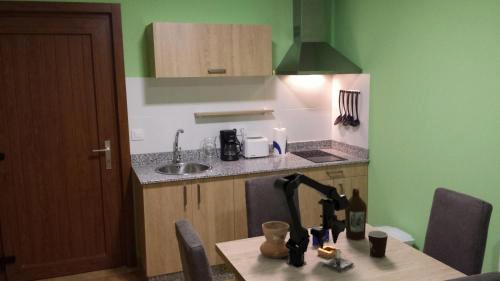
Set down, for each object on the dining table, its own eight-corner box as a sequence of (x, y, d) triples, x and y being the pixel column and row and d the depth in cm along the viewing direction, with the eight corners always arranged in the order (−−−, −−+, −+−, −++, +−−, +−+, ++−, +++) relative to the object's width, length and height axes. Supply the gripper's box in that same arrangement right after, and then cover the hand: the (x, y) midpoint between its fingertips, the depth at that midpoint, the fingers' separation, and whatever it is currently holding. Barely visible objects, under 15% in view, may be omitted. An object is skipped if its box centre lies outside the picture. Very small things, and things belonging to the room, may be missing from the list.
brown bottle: (343, 233, 233) (343, 186, 230) (364, 233, 233) (364, 185, 229) (346, 240, 223) (346, 191, 219) (368, 240, 222) (369, 191, 219)
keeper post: (340, 272, 187) (340, 255, 186) (323, 265, 194) (323, 249, 193) (353, 266, 193) (353, 249, 192) (336, 260, 200) (336, 243, 199)
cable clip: (321, 236, 230) (321, 225, 229) (329, 238, 227) (329, 226, 226) (309, 244, 220) (309, 232, 219) (318, 245, 217) (317, 233, 217)
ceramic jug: (292, 262, 199) (292, 230, 197) (259, 262, 199) (259, 230, 198) (290, 247, 217) (290, 218, 215) (260, 247, 217) (259, 218, 216)
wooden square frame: (329, 258, 201) (329, 253, 201) (317, 254, 207) (317, 249, 206) (339, 254, 206) (339, 249, 206) (327, 250, 211) (327, 245, 211)
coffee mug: (388, 259, 199) (388, 237, 198) (368, 258, 201) (368, 236, 199) (386, 249, 210) (386, 228, 209) (366, 248, 212) (367, 228, 211)
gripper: (329, 221, 192) (329, 256, 194) (355, 212, 204) (355, 245, 206) (309, 215, 200) (309, 249, 202) (336, 207, 212) (335, 239, 214)
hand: (328, 246), depth 206 cm, fingers open, 9 cm apart
